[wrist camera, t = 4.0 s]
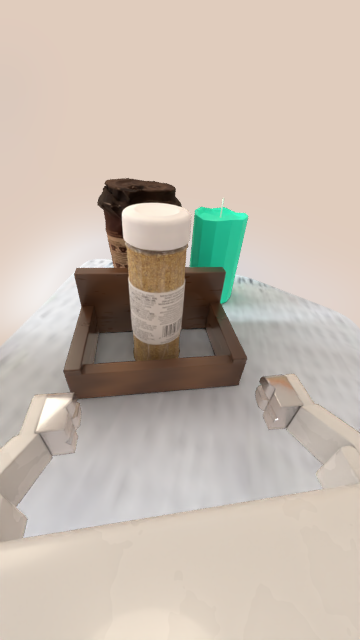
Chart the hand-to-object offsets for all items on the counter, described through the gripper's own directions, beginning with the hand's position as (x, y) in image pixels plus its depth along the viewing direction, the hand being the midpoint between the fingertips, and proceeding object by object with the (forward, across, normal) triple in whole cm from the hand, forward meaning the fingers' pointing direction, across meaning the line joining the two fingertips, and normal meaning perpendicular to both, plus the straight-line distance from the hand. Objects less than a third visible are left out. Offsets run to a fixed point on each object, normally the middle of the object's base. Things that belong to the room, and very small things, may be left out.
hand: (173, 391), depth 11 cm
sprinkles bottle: (+10, 0, +9) cm, 14 cm away
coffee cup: (+22, +1, +9) cm, 24 cm away
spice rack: (+10, 0, +8) cm, 13 cm away
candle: (+21, -8, +9) cm, 24 cm away
